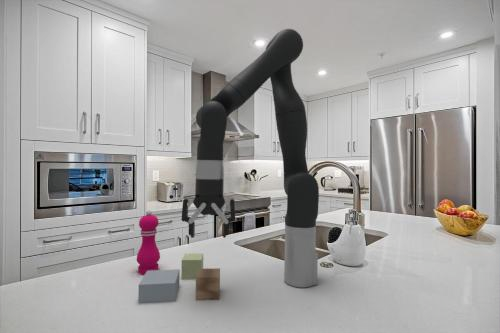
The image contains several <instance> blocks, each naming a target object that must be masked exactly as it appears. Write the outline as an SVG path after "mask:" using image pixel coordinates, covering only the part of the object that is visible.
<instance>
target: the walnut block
mask: <svg viewBox="0 0 500 333" xmlns="http://www.w3.org/2000/svg"><path fill="white" fill-rule="evenodd" d="M220 288H221V268H217V267H216V268H203V269H198V273H197V276H196V279H195V301H219V300H220V292H221V291H220V290H221V289H220Z"/></svg>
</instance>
